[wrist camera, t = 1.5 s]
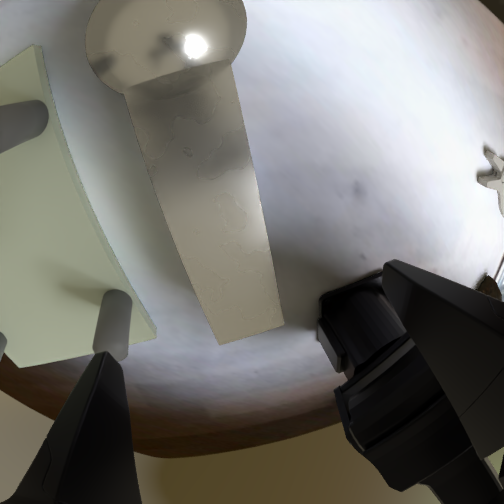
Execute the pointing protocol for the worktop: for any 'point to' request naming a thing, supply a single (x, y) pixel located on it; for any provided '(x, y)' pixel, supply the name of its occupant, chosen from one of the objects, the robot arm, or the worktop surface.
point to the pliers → (495, 178)
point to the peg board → (53, 238)
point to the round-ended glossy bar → (194, 146)
